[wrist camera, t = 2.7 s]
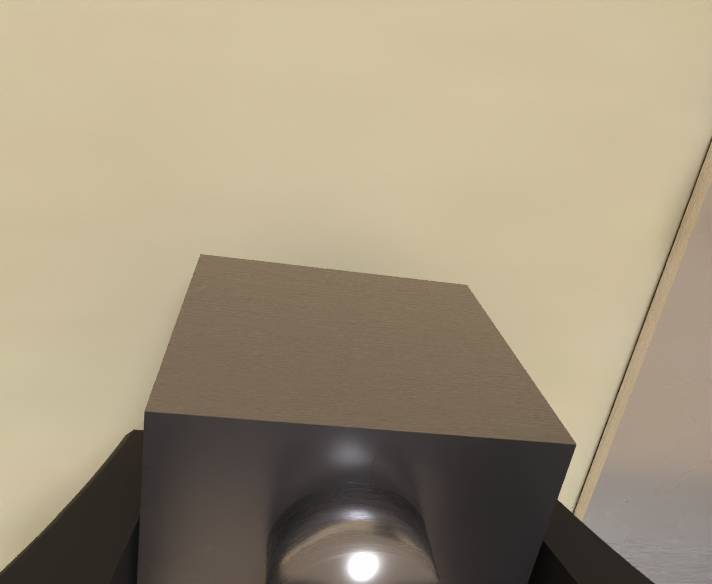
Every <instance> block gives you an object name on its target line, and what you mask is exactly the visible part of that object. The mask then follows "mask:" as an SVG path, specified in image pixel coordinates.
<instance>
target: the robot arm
mask: <svg viewBox="0 0 712 584" xmlns="http://www.w3.org/2000/svg"><path fill="white" fill-rule="evenodd" d="M143 437H144V430H133V431H131V432H130V433H128V434H127V435H126V436H125V437H124V438H123V440H122V441H121V442H120V444H119V445H118V446H117V448H116V449H115V450H114V451H113V453H112V454H111V455H110V457H109V458H108V459H107V460H106V462H105V463H104V464H103V465H102V466H101V468H100V469H99V470H98V471H97V472H96V473H95V475H94V476H93V477H92V478H91V479H90V480H89V482H88V483H87V484H86V485H85V486H84V487H83V489H82V490H81V491H80V492H79V493H78V494H77V495H76V496H75V497H74V498H73V499H72V501H71V502H70V503H69V504H68V505H67V506H66V507H65V508H64V509H63V510H62V511H61V512H60V514H59V515H58V516H57V517H56V518H55V519H54V520H53V521H52V522H51V523H50V524H49V525H48V526H47V527H46V528H45V529H44V530H43V531H42V533H41V534H40V535H39V536H38V537H36V538H35V539H34V540H33V541H32V542H31V543H30V544H29V545H28V546H27V547H26V548H25V549H24V550H23V551H22V552H21V553H20V554H19V555H18V556H17V557H16V558H15V559H14V560H13V561H12V562H11V563H10V564H9V565H8V566H7V567H6V568H4V569H3V570H2V571H1V572H0V584H137V571H138V549H139V526H140V504H141V481H142V459H143ZM528 584H655V583H654V582H652V581H651V580H650V579H649V578H647V577H646V576H645V575H644V574H642V573H641V572H640V571H639V570H637V569H636V568H635V567H634V566H632V565H631V564H630V563H629V562H628V561H627V560H625V559H624V558H623V557H622V556H621V555H619V554H618V553H617V552H616V551H615V550H614V549H612V548H611V547H610V546H609V545H608V544H607V543H605V542H604V541H603V540H602V539H601V538H600V537H599V536H597V535H596V534H595V533H594V532H593V531H592V530H591V529H589V528H588V527H587V526H586V525H585V524H584V523H583V522H582V521H580V520H579V519H578V518H577V517H576V516H575V515H574V514H573V513H572V512H570V511H569V510H568V509H567V508H566V507H565V506H564V505H563V504H562V503H561V502H559V501H558V500H557V501H556V504H555V507H554V510H553V513H552V516H551V518H550V521H549V524H548V527H547V530H546V533H545V535H544V538H543V541H542V544H541V547H540V550H539V553H538V555H537V558H536V561H535V564H534V567H533V570H532V572H531V575H530V578H529V581H528Z"/></svg>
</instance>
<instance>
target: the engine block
mask: <svg viewBox="0 0 712 584" xmlns="http://www.w3.org/2000/svg"><path fill="white" fill-rule="evenodd" d="M575 447H576V443H575V442H574V440H573V439H572V437H571V436H570V434H569V433H568V431H567V430H566V429H565V427H564V426H563V424H562V423H561V421H560V420H559V418H558V417H557V415H556V414H555V413H554V411H553V410H552V408H551V407H550V405H549V404H548V402H547V401H546V399H545V398H544V397H543V395H542V394H541V392H540V391H539V389H538V388H537V386H536V385H535V383H534V382H533V381H532V379H531V378H530V376H529V375H528V373H527V372H526V370H525V369H524V367H523V366H522V365H521V363H520V362H519V360H518V359H517V357H516V356H515V354H514V353H513V351H512V350H511V349H510V347H509V346H508V344H507V343H506V341H505V340H504V338H503V337H502V335H501V334H500V333H499V331H498V330H497V328H496V327H495V325H494V324H493V322H492V321H491V319H490V318H489V317H488V315H487V314H486V312H485V311H484V309H483V308H482V306H481V305H480V304H479V302H478V301H477V299H476V298H475V296H474V295H473V293H472V292H471V290H470V289H469V288H468V286H467V285H461V284H452V283H444V282H435V281H427V280H418V279H409V278H401V277H392V276H383V275H375V274H366V273H358V272H349V271H340V270H332V269H323V268H314V267H306V266H297V265H289V264H280V263H271V262H263V261H254V260H245V259H237V258H228V257H220V256H211V255H202V254H200V257H199V260H198V263H197V265H196V268H195V271H194V274H193V277H192V280H191V282H190V285H189V288H188V291H187V294H186V296H185V299H184V302H183V305H182V308H181V310H180V313H179V316H178V319H177V322H176V325H175V327H174V330H173V333H172V336H171V339H170V341H169V344H168V347H167V350H166V353H165V355H164V358H163V361H162V364H161V367H160V370H159V372H158V375H157V378H156V381H155V384H154V386H153V389H152V392H151V395H150V398H149V400H148V403H147V406H146V409H145V414H144V437H143V459H142V481H141V504H140V526H139V549H138V571H137V584H528V581H529V578H530V575H531V572H532V570H533V567H534V564H535V561H536V558H537V555H538V553H539V550H540V547H541V544H542V541H543V538H544V535H545V533H546V530H547V527H548V524H549V521H550V518H551V516H552V513H553V510H554V507H555V504H556V501H557V499H558V496H559V493H560V490H561V487H562V484H563V482H564V479H565V476H566V473H567V470H568V467H569V464H570V462H571V459H572V456H573V453H574V450H575Z"/></svg>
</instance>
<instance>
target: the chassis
mask: <svg viewBox="0 0 712 584" xmlns="http://www.w3.org/2000/svg"><path fill="white" fill-rule="evenodd" d="M574 515H575V516H576V517H577V518H578V519H579V520H580V521H582V522H583V523H584V524H585V525H586V526H587V527H588V528H589V529H591V530H592V531H593V532H594V533H595V534H596V535H597V536H599V537H600V538H601V539H602V540H603V541H604V542H605V543H607V544H608V545H609V546H610V547H611V548H612V549H614V550H615V551H616V552H617V553H618V554H619V555H621V556H622V557H623V558H624V559H625V560H627V561H628V562H629V563H630V564H631V565H632V566H634V567H635V568H636V569H637V570H639V571H640V572H641V573H642V574H644V575H645V576H646V577H647V578H649V579H650V580H651V581H652V582H654V583H655V584H712V142H711V145H710V147H709V150H708V153H707V156H706V158H705V161H704V164H703V166H702V169H701V172H700V174H699V177H698V180H697V183H696V185H695V188H694V191H693V193H692V196H691V199H690V201H689V204H688V207H687V210H686V212H685V215H684V218H683V220H682V223H681V226H680V228H679V231H678V234H677V237H676V239H675V242H674V245H673V247H672V250H671V253H670V255H669V258H668V261H667V264H666V266H665V269H664V272H663V274H662V277H661V280H660V282H659V285H658V288H657V290H656V293H655V296H654V299H653V301H652V304H651V307H650V309H649V312H648V315H647V317H646V320H645V323H644V326H643V328H642V331H641V334H640V336H639V339H638V342H637V344H636V347H635V350H634V353H633V355H632V358H631V361H630V363H629V366H628V369H627V371H626V374H625V377H624V380H623V382H622V385H621V388H620V390H619V393H618V396H617V398H616V401H615V404H614V407H613V409H612V412H611V415H610V417H609V420H608V423H607V425H606V428H605V431H604V434H603V436H602V439H601V442H600V444H599V447H598V450H597V452H596V455H595V458H594V461H593V463H592V466H591V469H590V471H589V474H588V477H587V479H586V482H585V485H584V487H583V490H582V493H581V496H580V498H579V501H578V504H577V506H576V509H575V512H574Z"/></svg>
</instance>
